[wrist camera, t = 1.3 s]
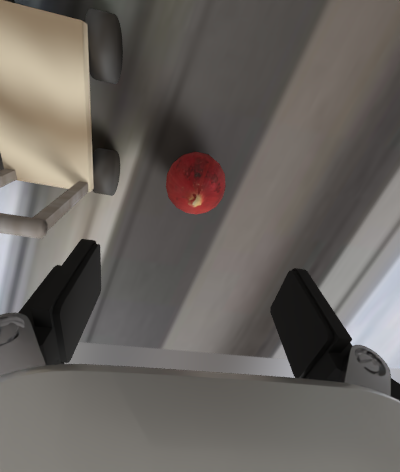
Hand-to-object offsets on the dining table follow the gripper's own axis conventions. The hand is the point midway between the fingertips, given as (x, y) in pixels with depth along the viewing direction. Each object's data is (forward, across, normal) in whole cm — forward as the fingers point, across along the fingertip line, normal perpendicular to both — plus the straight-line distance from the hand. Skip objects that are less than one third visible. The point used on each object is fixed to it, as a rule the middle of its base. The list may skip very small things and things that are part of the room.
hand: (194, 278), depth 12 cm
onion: (+17, 0, 0) cm, 17 cm away
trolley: (+17, +13, -4) cm, 22 cm away
